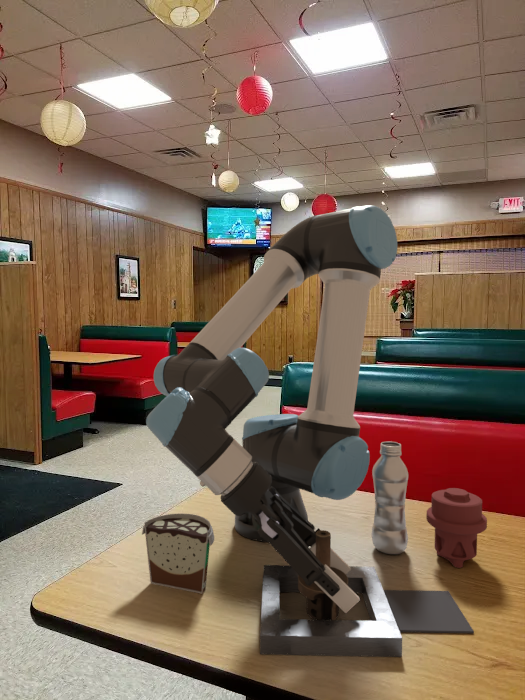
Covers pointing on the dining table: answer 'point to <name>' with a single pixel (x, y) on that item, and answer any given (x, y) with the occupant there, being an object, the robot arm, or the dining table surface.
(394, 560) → the dining table surface
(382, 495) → the plastic bottle
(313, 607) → the industrial component
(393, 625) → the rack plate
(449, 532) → the mechanical component
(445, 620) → the rubber mat
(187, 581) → the food container
